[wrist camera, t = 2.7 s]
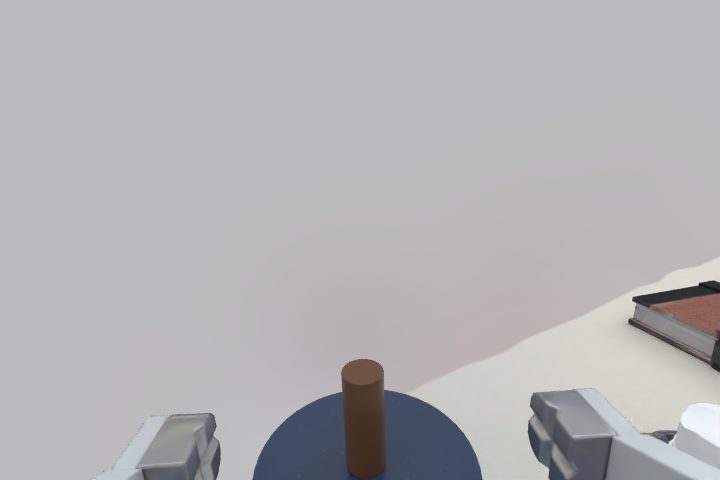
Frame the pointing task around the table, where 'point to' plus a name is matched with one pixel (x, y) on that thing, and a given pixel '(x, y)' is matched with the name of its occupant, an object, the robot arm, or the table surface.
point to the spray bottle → (700, 433)
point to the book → (684, 319)
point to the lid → (367, 437)
